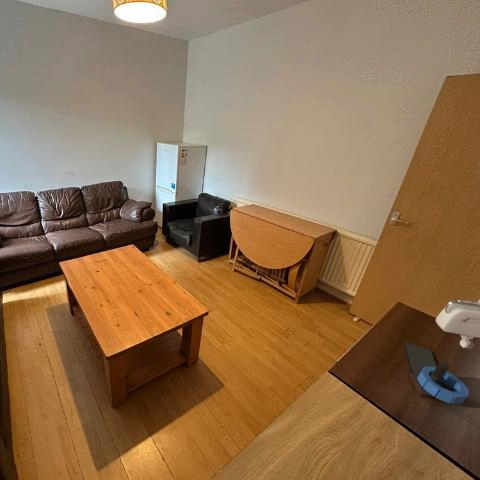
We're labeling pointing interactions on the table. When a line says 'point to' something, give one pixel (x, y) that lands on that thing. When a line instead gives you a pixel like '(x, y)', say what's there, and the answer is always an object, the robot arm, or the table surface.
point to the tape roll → (441, 393)
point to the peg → (435, 377)
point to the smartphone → (419, 358)
